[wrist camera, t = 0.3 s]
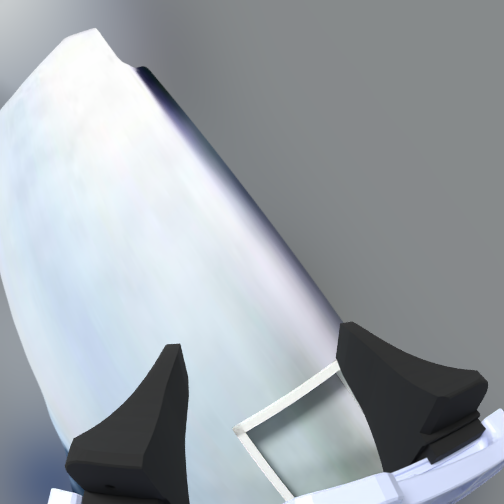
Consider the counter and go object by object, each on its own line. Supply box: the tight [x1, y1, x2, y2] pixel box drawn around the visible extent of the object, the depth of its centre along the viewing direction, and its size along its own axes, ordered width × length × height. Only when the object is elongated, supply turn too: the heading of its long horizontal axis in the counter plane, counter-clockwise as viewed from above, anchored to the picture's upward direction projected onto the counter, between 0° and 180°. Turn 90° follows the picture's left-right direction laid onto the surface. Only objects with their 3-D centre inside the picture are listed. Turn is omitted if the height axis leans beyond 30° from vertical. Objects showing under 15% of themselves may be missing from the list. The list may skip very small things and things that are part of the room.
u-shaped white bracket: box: [232, 360, 362, 501], centre depth 36 cm, size 18×18×3 cm
